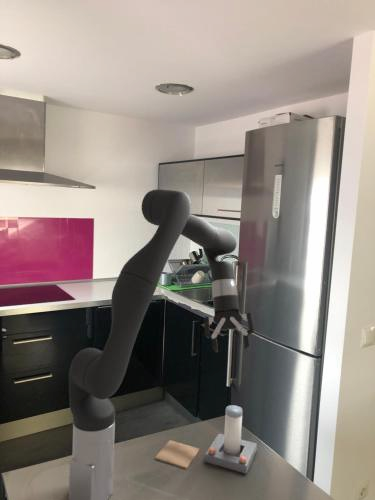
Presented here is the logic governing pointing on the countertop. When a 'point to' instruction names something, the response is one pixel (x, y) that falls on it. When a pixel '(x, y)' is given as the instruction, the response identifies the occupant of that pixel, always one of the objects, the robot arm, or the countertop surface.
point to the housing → (230, 461)
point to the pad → (177, 454)
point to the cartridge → (233, 430)
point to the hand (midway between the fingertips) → (231, 350)
